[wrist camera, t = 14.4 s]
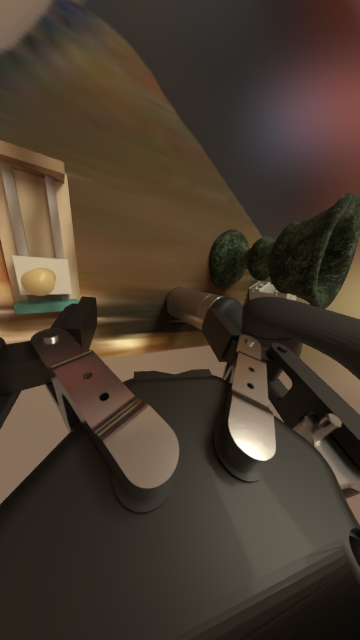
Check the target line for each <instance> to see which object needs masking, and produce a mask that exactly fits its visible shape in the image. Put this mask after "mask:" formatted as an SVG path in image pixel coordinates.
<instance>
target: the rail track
mask: <svg viewBox="0 0 360 640" xmlns="http://www.w3.org/2000/svg"><path fill="white" fill-rule="evenodd" d="M0 240H1V244H2V248H3V253H4V257H5V262H6V266H7V270H8V275H9V279H10V283H11V288H12V292H13V297H14V301H15V304H14V305H13V306H14V310H15V314H29V313H43V312H58V311H63V310H64V308H65V307H66V306H68V305H70V304H72V303H75V304H78V302H79V301H80V290H79V281H78V272H77V263H76V254H75V245H74V236H73V227H72V218H71V209H70V200H69V191H68V182H67V174H65V171H64V162H62V161H59V160H56V159H53V158H50V157H47V156H44V155H42V154H39V153H36V152H33V151H30V150H27V149H24V148H21V147H18V146H16V145H13V144H10V143H7V142H4V141H1V140H0ZM12 255H14V256H27V257H40V258H54V259H67V260H68V266H69V274H70V282H71V290H72V294H48V295H44V296H36V295H20V290H19V286H18V281H17V276H16V272H15V267H14V262H13V258H12Z"/></svg>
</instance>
